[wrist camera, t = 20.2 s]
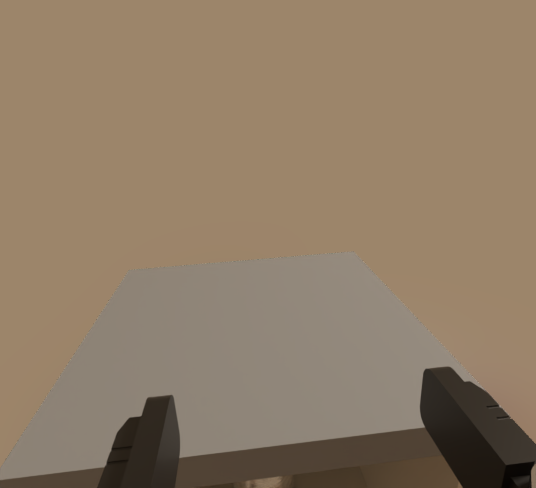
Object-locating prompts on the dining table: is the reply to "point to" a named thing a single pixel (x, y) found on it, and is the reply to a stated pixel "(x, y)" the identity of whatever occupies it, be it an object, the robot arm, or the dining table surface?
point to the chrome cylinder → (267, 483)
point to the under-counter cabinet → (249, 379)
